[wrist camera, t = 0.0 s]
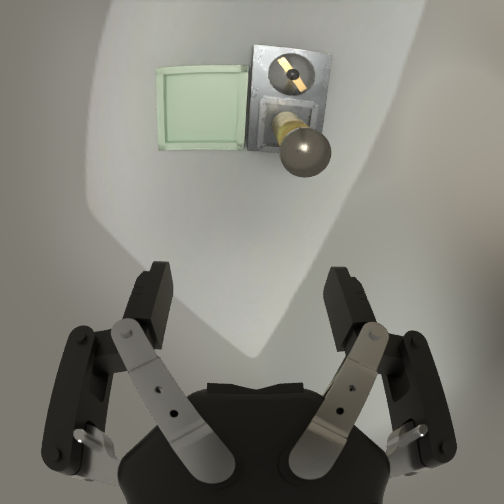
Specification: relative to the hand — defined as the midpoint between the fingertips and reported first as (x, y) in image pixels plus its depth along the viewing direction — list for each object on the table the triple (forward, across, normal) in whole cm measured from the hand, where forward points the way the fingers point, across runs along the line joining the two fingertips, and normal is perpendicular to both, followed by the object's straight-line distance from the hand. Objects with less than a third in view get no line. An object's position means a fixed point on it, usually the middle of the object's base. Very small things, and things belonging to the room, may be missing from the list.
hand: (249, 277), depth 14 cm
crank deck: (+29, -5, -6) cm, 30 cm away
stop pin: (+27, -5, -2) cm, 28 cm away
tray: (+29, +6, -4) cm, 30 cm away
